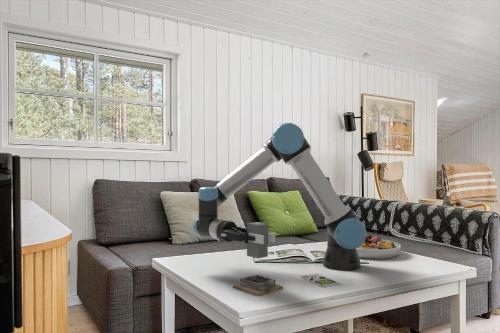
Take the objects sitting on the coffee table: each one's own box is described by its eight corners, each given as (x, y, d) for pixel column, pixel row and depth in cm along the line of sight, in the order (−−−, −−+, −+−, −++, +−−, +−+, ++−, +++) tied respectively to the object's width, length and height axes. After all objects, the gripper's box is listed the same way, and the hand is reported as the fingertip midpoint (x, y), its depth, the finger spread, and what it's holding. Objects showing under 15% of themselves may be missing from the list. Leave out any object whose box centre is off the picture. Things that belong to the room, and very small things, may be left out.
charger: (256, 253, 140) (256, 221, 140) (267, 256, 136) (267, 223, 136) (246, 255, 137) (247, 222, 137) (258, 258, 133) (258, 224, 133)
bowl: (406, 262, 175) (406, 244, 175) (335, 259, 181) (335, 241, 181) (395, 248, 205) (395, 233, 205) (335, 246, 211) (335, 231, 211)
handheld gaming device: (317, 273, 155) (342, 283, 141) (317, 274, 155) (342, 285, 141) (298, 275, 151) (322, 286, 137) (298, 277, 151) (322, 288, 137)
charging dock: (257, 281, 145) (257, 272, 145) (282, 288, 136) (282, 279, 136) (232, 287, 136) (232, 278, 137) (257, 296, 128) (257, 286, 128)
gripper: (241, 237, 155) (286, 246, 138) (204, 243, 143) (249, 254, 126) (241, 218, 155) (286, 225, 138) (204, 222, 143) (249, 230, 126)
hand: (268, 239), depth 132 cm, fingers closed on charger, 4 cm apart
